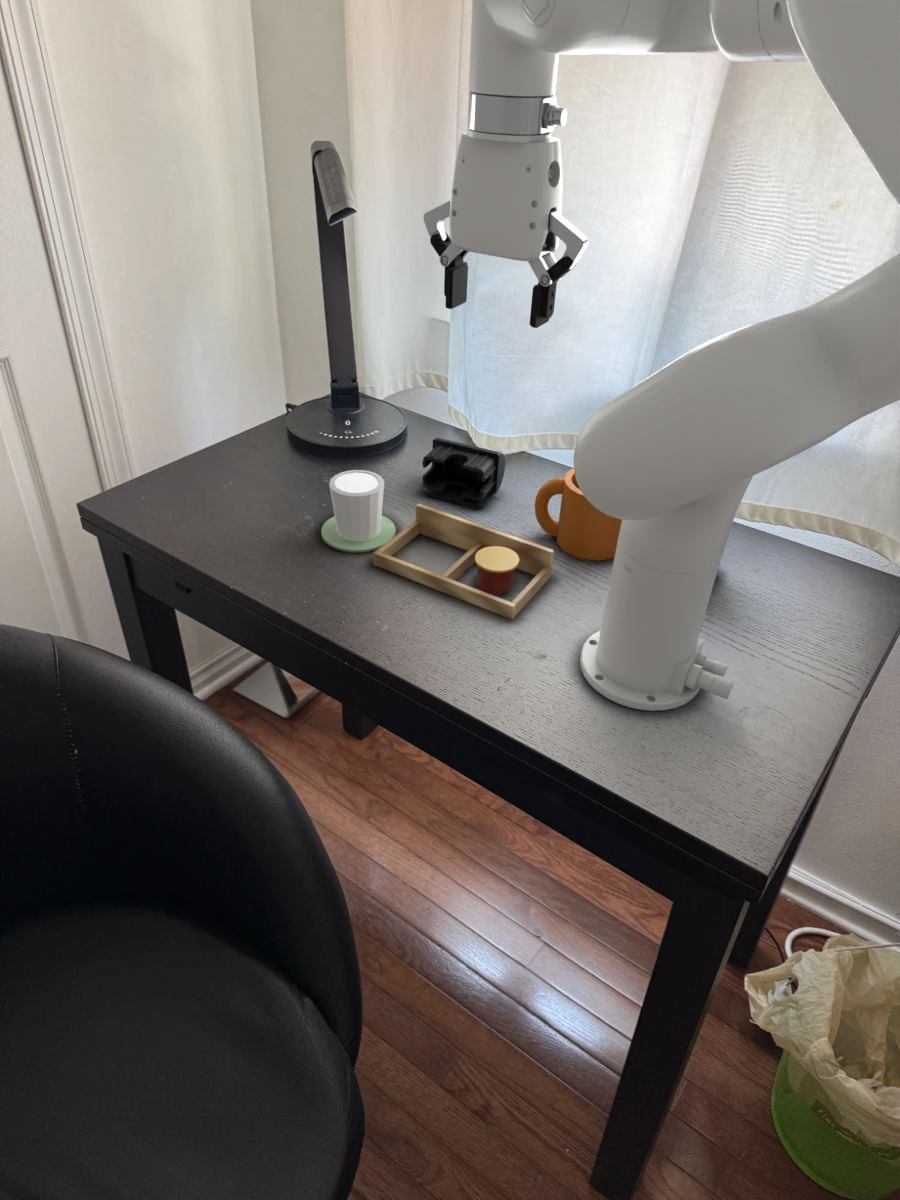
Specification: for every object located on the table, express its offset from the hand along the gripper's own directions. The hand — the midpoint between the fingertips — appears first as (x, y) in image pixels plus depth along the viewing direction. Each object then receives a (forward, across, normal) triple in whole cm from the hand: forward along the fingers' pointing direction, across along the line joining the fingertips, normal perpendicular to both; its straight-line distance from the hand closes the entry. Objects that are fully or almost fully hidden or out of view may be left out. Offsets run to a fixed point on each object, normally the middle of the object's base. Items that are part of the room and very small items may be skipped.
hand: (496, 314), depth 80 cm
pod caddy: (+30, +1, +3) cm, 30 cm away
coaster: (+30, +16, +3) cm, 35 cm away
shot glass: (+30, +16, +3) cm, 34 cm away
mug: (+31, -8, -12) cm, 34 cm away
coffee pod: (+30, -4, +3) cm, 31 cm away
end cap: (+31, +11, -14) cm, 35 cm away
